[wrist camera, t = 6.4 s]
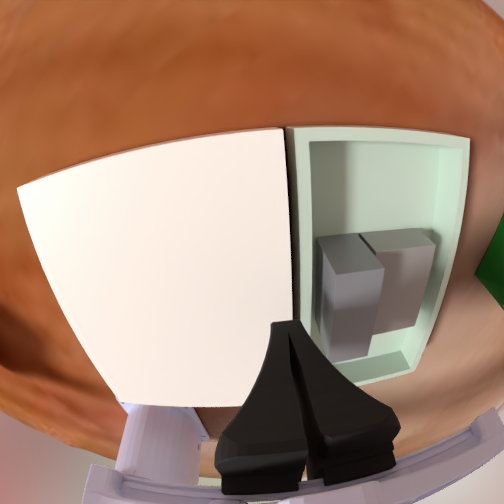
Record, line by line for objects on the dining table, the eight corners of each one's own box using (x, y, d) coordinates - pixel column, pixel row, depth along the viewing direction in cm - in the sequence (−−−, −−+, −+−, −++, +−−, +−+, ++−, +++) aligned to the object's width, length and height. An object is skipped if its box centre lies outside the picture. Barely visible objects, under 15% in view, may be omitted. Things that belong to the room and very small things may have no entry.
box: (403, 350, 21) (414, 371, 19) (294, 371, 21) (298, 396, 19) (442, 132, 13) (469, 138, 10) (284, 126, 13) (293, 127, 11)
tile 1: (361, 337, 16) (350, 313, 18) (414, 325, 16) (400, 304, 18) (376, 251, 13) (359, 232, 15) (435, 244, 13) (415, 227, 15)
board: (287, 371, 21) (292, 401, 18) (129, 376, 21) (120, 402, 19) (275, 127, 13) (282, 129, 10) (46, 174, 13) (16, 188, 11)
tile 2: (315, 319, 18) (348, 313, 18) (328, 363, 14) (367, 356, 14) (315, 237, 15) (355, 232, 15) (335, 274, 12) (384, 267, 12)
